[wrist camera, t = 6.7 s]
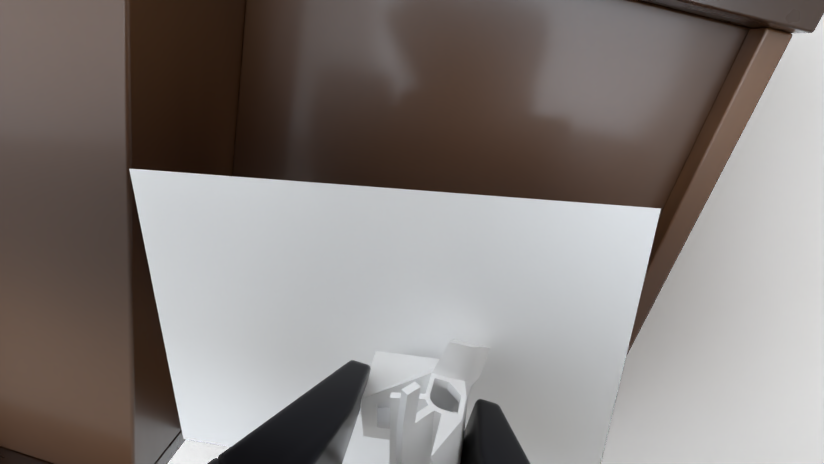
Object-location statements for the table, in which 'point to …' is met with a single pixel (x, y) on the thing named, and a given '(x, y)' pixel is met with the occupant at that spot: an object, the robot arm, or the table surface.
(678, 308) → the table surface
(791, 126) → the table surface
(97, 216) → the wooden step tray
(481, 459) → the robot arm
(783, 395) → the table surface
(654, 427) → the table surface
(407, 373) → the adhesive hook
